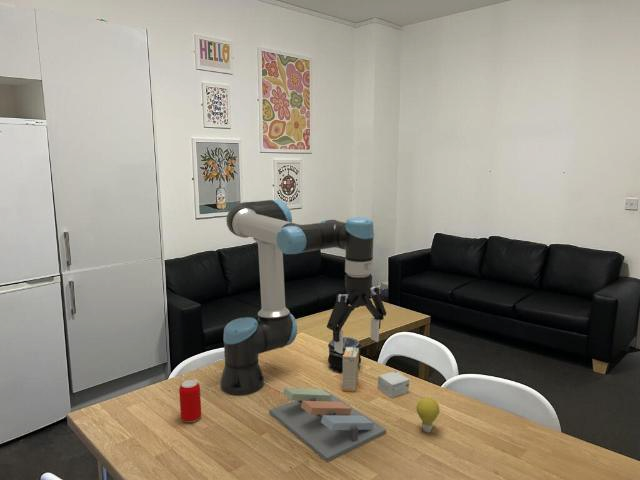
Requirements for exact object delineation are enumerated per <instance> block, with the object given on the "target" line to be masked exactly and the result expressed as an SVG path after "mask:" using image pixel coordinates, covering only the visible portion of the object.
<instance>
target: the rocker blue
mask: <svg viewBox="0 0 640 480" xmlns="http://www.w3.org/2000/svg"><path fill="white" fill-rule="evenodd" d="M321 423H322V424H324V425H325V426H326V427H328V428H329V429H330V430H350V431H352V427H355V426H357V427H358V430H372V427H373V424H374V423H373V422H371V421H370V420H368V419H367V418H365V417H364V416H359V415H323V416H322V420H321Z"/></svg>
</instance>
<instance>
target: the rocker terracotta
mask: <svg viewBox="0 0 640 480" xmlns="http://www.w3.org/2000/svg"><path fill="white" fill-rule="evenodd" d="M346 404H347V403H346ZM346 404H344V403H342V402H331V401H302V404H301V408H302V409H304V410H305V411H306V412H308V413H309V414H311V415H330V412H332V411H335V412H336V415H350V412H351V409H352V408H353V407H352V408H350V407H349V406H350V405H349V406H347V405H346Z"/></svg>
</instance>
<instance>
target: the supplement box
mask: <svg viewBox="0 0 640 480" xmlns="http://www.w3.org/2000/svg"><path fill="white" fill-rule="evenodd" d="M358 363H359V348H353V347H346V349H345V352H344V354H343V373H342V387H341V388H342V392H349V393H356V390H357V386H358V383H359V368H358Z"/></svg>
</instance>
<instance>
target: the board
mask: <svg viewBox="0 0 640 480" xmlns="http://www.w3.org/2000/svg"><path fill="white" fill-rule="evenodd" d="M323 390H324V391H326V392H327V393H329V394H330V395H332V396H331V400H330V401H331V402H342V403H344V404H346V405H347V406H349V407H350V408H352V409H351V412H350V415H359V416H364V417H365V418H367V419H368V420H370V421H371V422H373V423H374V424H373V427H372V430H358V427H357V426H355V427H352V431H350V430H330V429H329V428H328V427H326V426H325V425H324V424H322V423H321V420H322V416H323V415H311V414H309V413H308V412H306V411H305V410H304V409H302V408H301V404H302V401H299V400H291V401H290V402H287V403H284V404H281V405H279V406H277V407H276V406H275V407H274V408H271V409H269V414H270V416H272V417H273V418H274V419H275V420H277V421H278V422H279V423H280V424H282V425H283V427H285V428H286V429H287V430H289V432H291V433H292V434H293V435H294V436H296V437H297V438H298V439H299V440H300V441H302V442H303V444H305V445H306V446H307V447H309V448H310V449H311V450H312V451H313V452H315V454H317V455H318V456H319V457H321V458H322V459H323V460H324V461H325V462H326V463H328V462H330V461H332V460H335V459H337V458H339V457H341V456H342V455H345V454H347V453H349V452H351V451H353V450H355V449H357V448H359V447H361V446H363V445H365V444H367V443H370V442H372V441H373V440H376V439H378V438H380V437H381V436H383V435H386V434H387V429H386V428H384V426H381V425H380V424H379V423H377V422H376V421H374V420H373V419H371V418H370V417H368V416H367V415H365V414H364V413H362V412H360V411H358V410H357V409H356V408H354V407H352V406H351V405H350V404H348V403H346V402H345V401H343V400H342V399H341V398H338V397H337V396H336V395H334V394H332V393H331V392H330V391H328V390H326V389H323ZM310 401H316V398H315V397H314V398H311V399H310ZM330 415H336V412H335V411H332V412H330Z"/></svg>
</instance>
